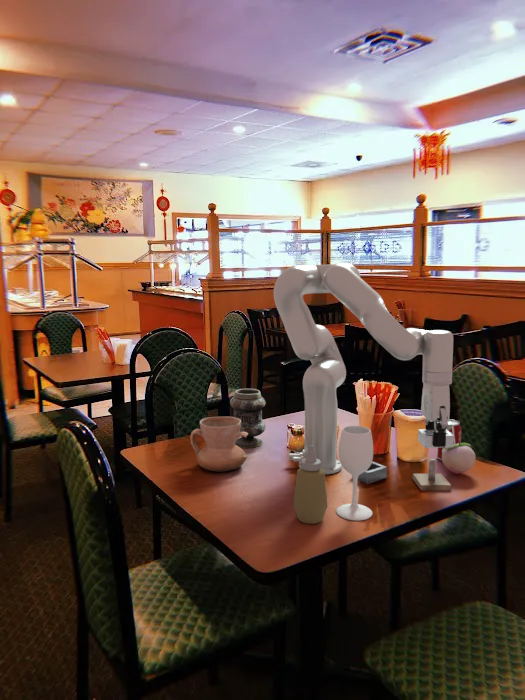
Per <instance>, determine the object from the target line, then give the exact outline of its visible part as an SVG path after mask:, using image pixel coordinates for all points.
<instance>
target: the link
mask: <svg viewBox="0 0 525 700" xmlns="http://www.w3.org/2000/svg"><path fill="white" fill-rule="evenodd" d="M387 475H388V467H387V466H386V465H383V464H380V463H378V462H375V461H373V460H372V464H371V466H370V467H369V468H368V469H367V470H366V471H365V472H363V473H362V474H360V475H359V476H358V480H357V481H359V482H362V483H364V484H367V485H369V484H372V483H375V482H378V481H382V480H384V479H387V478H388V476H387Z"/></svg>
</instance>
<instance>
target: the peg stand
mask: <svg viewBox="0 0 525 700" xmlns="http://www.w3.org/2000/svg"><path fill="white" fill-rule="evenodd" d="M436 466H437V459H435V458H429V459H428V473H412V480H413V481H414V483H415V484H416V485H417V487H418V488H419V490H420V491H452V484H451V483H450V482H449V481H448V479H446V477H445V476H444V475H443V473H436V470H437V469H436Z"/></svg>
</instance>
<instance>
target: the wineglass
mask: <svg viewBox="0 0 525 700" xmlns="http://www.w3.org/2000/svg"><path fill="white" fill-rule="evenodd" d="M372 435H373V434H372V431H371V429H370V428H368V427H366V426H362V425H347V426H344V427H343V428H342V430H341V434H340V438H339V444H338V459H339V461H340V463H341V465H342V468H343V469H344V470H345V471H346V472H347V473H349V474H350V475H351V477H352V498H351V503H345V504H342V505H340V506H339V507H337V508H336V515H337V516H339V517H340V518H342V519H345V520H349V521H354V522H355V521H358V522H359V521H365V520H369V519H370V518H371V517H372V516H373V511H372V509H371V508H369V507H368V506H365V505H363V504H361V503H360V504H359V503H358V481H359V480H358V476H359V475H360V474H362V473H363V472H365V471H366V470H367V469H368V468H369V467H370V466H371V464H372V461H373V459H374V442H373V436H372Z"/></svg>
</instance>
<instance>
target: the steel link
mask: <svg viewBox="0 0 525 700" xmlns="http://www.w3.org/2000/svg"><path fill="white" fill-rule="evenodd" d="M417 430H418V434H417V435H418V436H417V440H418V442H419V443H420V444H421V446H422V447H423V448H424V449H426V448H428V449H431V448H433V449H434V448H436V449H437V447H434V446H433V432H435V429H426V428H423V429H417ZM453 440H454V435H452V434H451V433H450V432H449V431H448V430H447V429H446V446H445V447H453Z"/></svg>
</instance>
